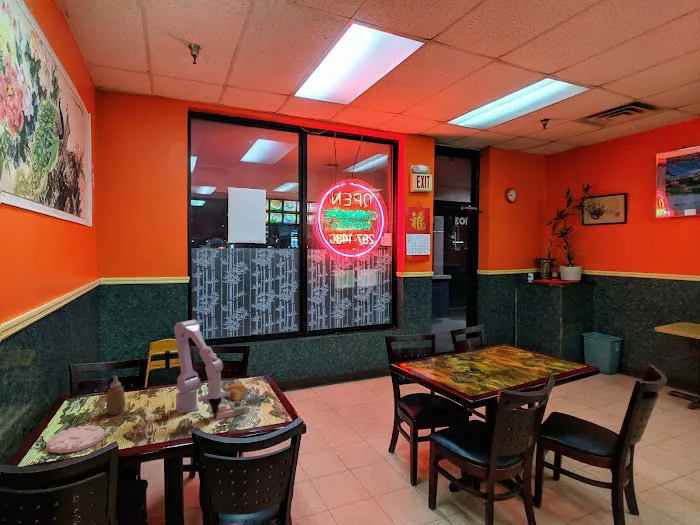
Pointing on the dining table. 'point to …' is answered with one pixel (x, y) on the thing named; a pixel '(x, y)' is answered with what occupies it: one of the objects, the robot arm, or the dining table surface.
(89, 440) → the embossed medallion
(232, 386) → the croissant
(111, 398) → the squeeze bottle
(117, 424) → the dining table surface
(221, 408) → the pink stepped block
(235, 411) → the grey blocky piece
